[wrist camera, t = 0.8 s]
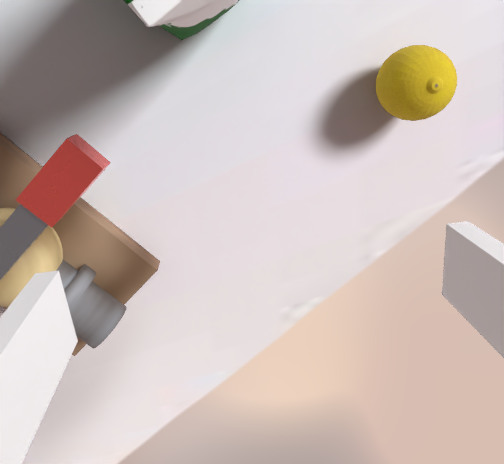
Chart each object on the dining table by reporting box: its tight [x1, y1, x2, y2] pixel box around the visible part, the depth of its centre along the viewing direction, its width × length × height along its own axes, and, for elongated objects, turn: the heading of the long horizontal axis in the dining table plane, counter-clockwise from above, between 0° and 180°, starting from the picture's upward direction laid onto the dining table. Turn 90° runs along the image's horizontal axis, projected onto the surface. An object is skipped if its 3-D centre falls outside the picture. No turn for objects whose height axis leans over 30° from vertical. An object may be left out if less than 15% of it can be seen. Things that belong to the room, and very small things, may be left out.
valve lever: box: [0, 134, 110, 281], centre depth 30 cm, size 15×3×2 cm, turn 136°
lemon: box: [376, 45, 457, 121], centre depth 36 cm, size 6×6×8 cm
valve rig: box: [0, 133, 160, 356], centre depth 37 cm, size 20×12×10 cm, turn 46°
